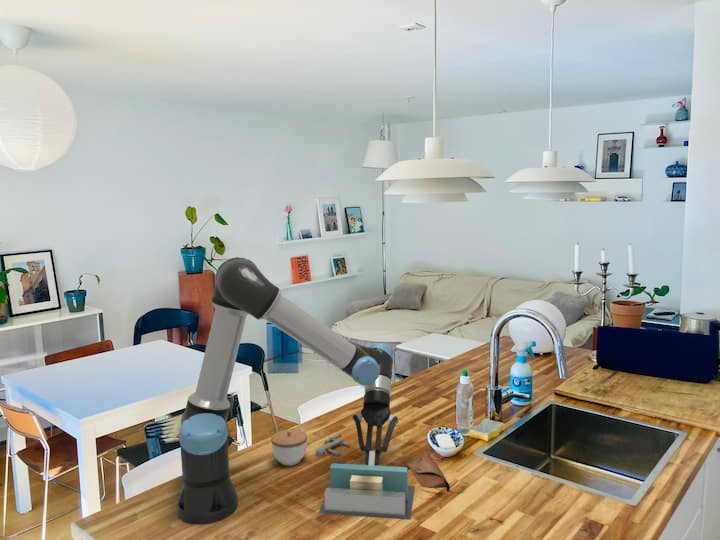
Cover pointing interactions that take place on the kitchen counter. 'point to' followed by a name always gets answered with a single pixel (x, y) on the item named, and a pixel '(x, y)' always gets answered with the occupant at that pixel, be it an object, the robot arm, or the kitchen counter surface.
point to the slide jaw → (392, 476)
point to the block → (366, 483)
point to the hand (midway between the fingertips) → (370, 476)
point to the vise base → (368, 503)
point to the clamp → (326, 448)
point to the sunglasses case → (428, 472)
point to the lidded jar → (289, 446)
